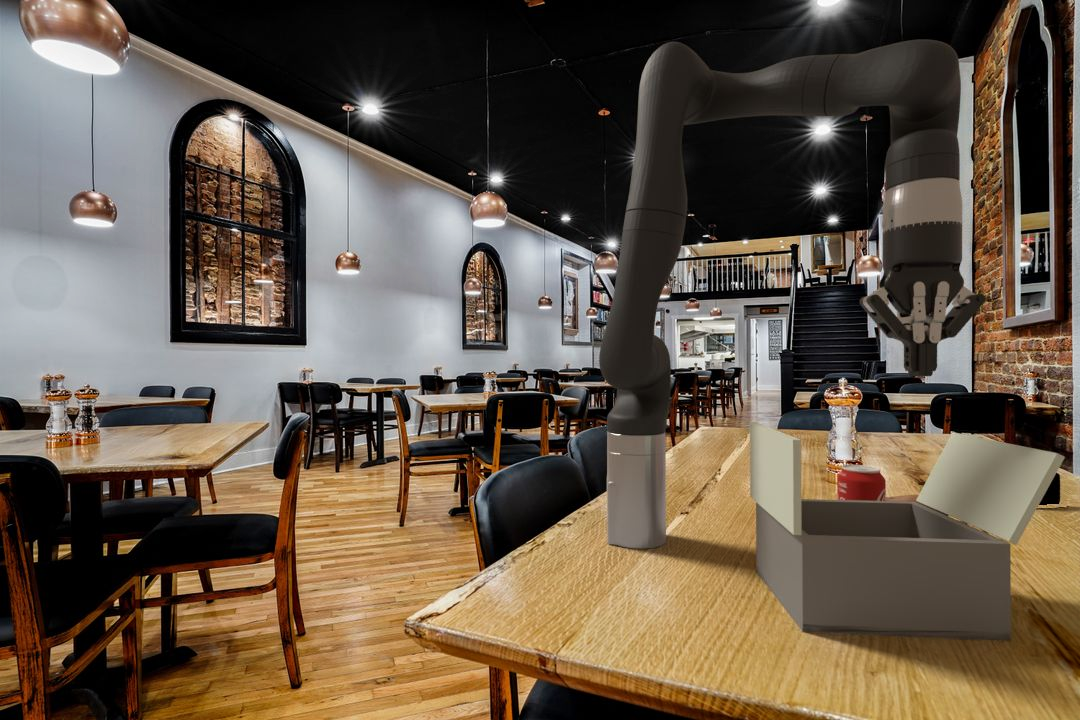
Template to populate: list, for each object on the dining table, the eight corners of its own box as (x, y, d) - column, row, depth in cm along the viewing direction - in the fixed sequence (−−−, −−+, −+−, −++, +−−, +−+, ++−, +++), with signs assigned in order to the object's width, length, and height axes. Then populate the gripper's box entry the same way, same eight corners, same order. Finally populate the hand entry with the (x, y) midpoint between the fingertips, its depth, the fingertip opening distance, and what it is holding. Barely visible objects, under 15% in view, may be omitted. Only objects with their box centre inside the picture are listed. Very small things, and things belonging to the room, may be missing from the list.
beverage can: (893, 554, 78) (893, 472, 78) (846, 552, 79) (845, 471, 79) (875, 540, 84) (875, 464, 84) (832, 538, 85) (831, 463, 85)
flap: (1057, 453, 53) (1065, 456, 53) (952, 432, 69) (958, 435, 68) (1008, 541, 54) (1016, 545, 53) (915, 500, 69) (921, 503, 69)
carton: (794, 633, 55) (793, 440, 55) (750, 572, 71) (749, 422, 71) (1010, 643, 53) (1009, 442, 53) (915, 578, 69) (914, 423, 69)
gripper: (877, 219, 58) (876, 377, 59) (1007, 216, 57) (1007, 377, 57) (845, 235, 66) (845, 374, 66) (960, 233, 65) (959, 375, 65)
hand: (920, 375), depth 62 cm, fingers closed
